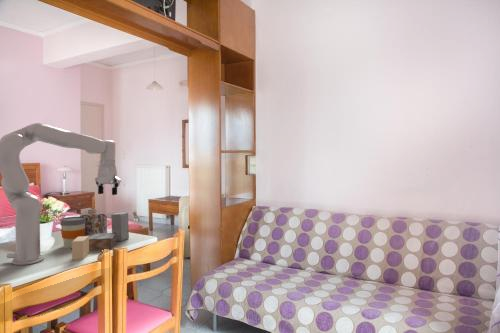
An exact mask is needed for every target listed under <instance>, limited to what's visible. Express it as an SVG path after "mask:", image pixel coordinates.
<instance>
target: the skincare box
mask: <svg viewBox="0 0 500 333" xmlns="http://www.w3.org/2000/svg"><path fill="white" fill-rule="evenodd" d="M110 218H111V233H117V234H116V242H123V241H125V240H127V239H129V238H130V236H129V235H130V231H129V230H130V229H129V226H130V225H129V212H117V213H116V212H115V213H112V214H111V217H110Z"/></svg>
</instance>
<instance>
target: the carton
mask: <svg viewBox="0 0 500 333" xmlns="http://www.w3.org/2000/svg"><path fill="white" fill-rule="evenodd" d="M89 255H90V250H89V236H79V237H77V238H76V239H75V240H73V241H72V248H71V259H72V261H81V260H80V259H82V261H84V260H85V259H86V258H87V256H89Z"/></svg>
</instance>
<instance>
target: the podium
mask: <svg viewBox="0 0 500 333" xmlns="http://www.w3.org/2000/svg"><path fill="white" fill-rule="evenodd" d="M116 234H117V233H112V232H107V233H98V234H88V235H86V236H89V251H102V250H103V249H107V250H112V249H113V248H114V246H115V245H116V243H117V241H116Z"/></svg>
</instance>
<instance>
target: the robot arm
mask: <svg viewBox="0 0 500 333" xmlns="http://www.w3.org/2000/svg"><path fill="white" fill-rule="evenodd" d="M36 142H41V143H46V144H49V145H54V146H58V147H61V148H67V149H78V150H81V151H82V150H83V151H85V152H86V153H88V154H92V155H93V154H96V155H97V154H98V155H99V154H100V155H99V158H100V161H99V164H100V165H99V166H98V171H97V177H95V178H94V181H95V185H97V193H98V194H97V195H101V194H102V195H104V185H111V186H112V187H111V196H116V195H117V194H118V188H119V186H120V185H121V184H120V183H121V181H122V180H121V179H120V178H119V177H118V173H117V172H118V171H117V166H116V142H115V140H102V139H100V138H96V137H94V136H90V135H86V134H82V133H79V132H75V131H70V130H66V129H63V128H59V127H56V126H53V125H49V124H46V123H40V122H35V123H31V124H29V125H26V126H24V127H21V128H20V129H17V130H14V131H12V132H10V133H7V134H5V135H3V136H1V138H0V175H1V181H0V185H1V188H2V190H3V192H4V195H5V196H6V199H7V200H8V202H9V205H10V207H11V208H12V209H13V210H14V211H15V223H14V224H15V227H14V228H15V252H9V253H8V252H7V253H6V259H12V260H11V263H12V265H15V266H25V265H26V266H27V265H32V264H37V263H41V262H43V261H44V260H45V256H44V255H42V254H41V224H40V223H41V211H42V210H41V209H42V203H41V201H40V199H39V198H38V197H37V196H36V195H34V194H33V193H31V191H30V189H29V187H30V184H31V183H30V180H29V178H28V176H27V174H26V171H25V169H24V167H23V165H22V163H21V159H20V155H21V153H22V151H23V149H25V148H26V147H27V146H30V145H32V144H34V143H36Z"/></svg>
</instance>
